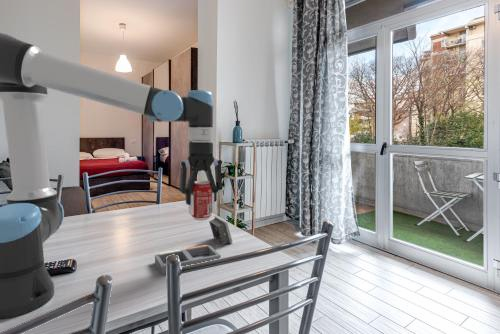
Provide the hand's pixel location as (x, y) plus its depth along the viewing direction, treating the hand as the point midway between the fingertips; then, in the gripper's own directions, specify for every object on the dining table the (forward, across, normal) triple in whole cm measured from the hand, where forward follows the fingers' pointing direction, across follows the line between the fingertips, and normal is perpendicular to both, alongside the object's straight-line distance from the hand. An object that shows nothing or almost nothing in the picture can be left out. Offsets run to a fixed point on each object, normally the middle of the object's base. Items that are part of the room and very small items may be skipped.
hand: (201, 212), depth 100 cm
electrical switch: (+16, +12, +12) cm, 24 cm away
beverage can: (+2, 0, 0) cm, 2 cm away
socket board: (+16, -5, 0) cm, 17 cm away
